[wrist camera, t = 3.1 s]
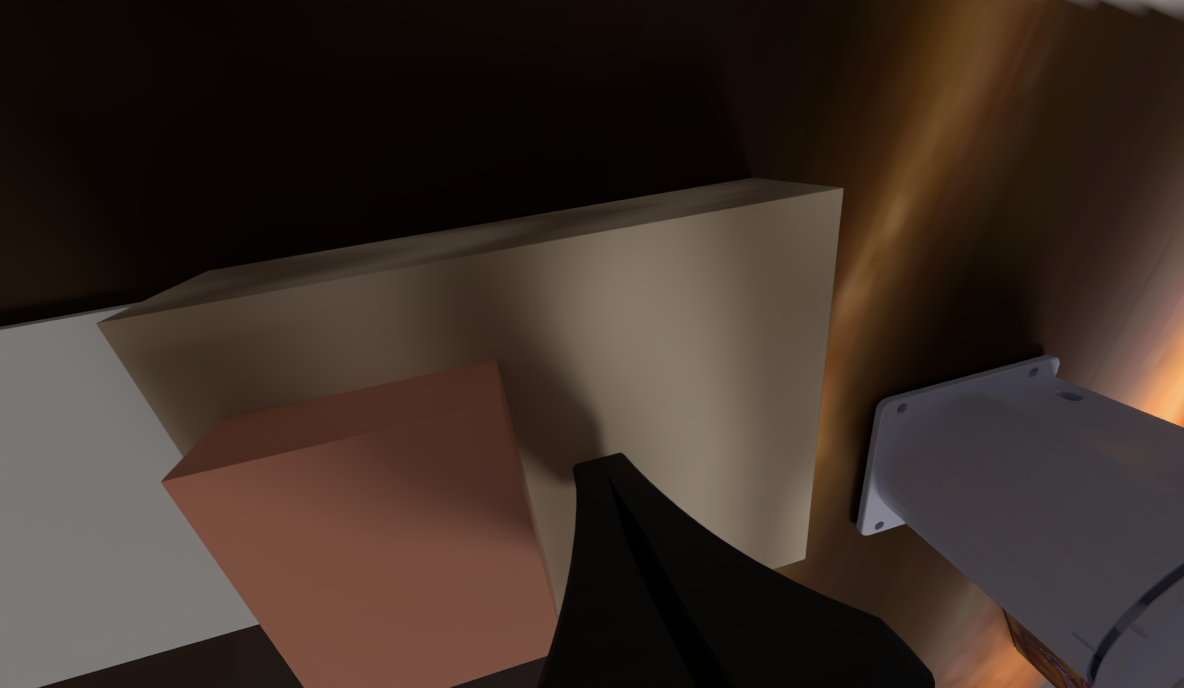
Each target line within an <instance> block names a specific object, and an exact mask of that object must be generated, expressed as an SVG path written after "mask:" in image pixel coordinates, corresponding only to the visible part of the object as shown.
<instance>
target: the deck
mask: <svg viewBox="0 0 1184 688" xmlns="http://www.w3.org/2000/svg"><path fill="white" fill-rule="evenodd" d="M843 189H844V188H839V187H830V186H821V185H812V184H804V183H795V182H786V181H778V180H769V179H760V178H749V179H743V180H737V181H731V182H725V183H719V184H713V185H708V186H702V187H696V188H690V189H684V190H678V191H672V192H667V193H661V194H655V195H649V196H643V197H637V198H631V199H626V200H620V201H614V202H608V203H602V204H596V205H590V206H585V207H579V208H573V209H567V210H561V211H555V212H549V213H544V214H538V215H532V216H526V217H520V218H514V219H509V220H503V221H497V222H491V223H485V224H479V225H473V226H468V227H462V228H456V229H450V230H444V231H438V232H432V233H427V234H421V235H415V236H409V237H403V238H397V239H391V240H386V241H380V242H374V243H368V244H362V245H356V246H350V247H345V248H339V249H333V250H327V251H321V252H315V253H309V254H304V255H298V256H292V257H286V258H280V259H274V260H268V261H263V262H257V263H251V264H245V265H239V266H233V267H227V268H222V269H216V270H210V271H207V272H204V273H202V274H200V275H198V276H196V277H194V278H192V279H190V280H187V281H185V282H183V283H181V284H179V285H177V286H175V287H172V288H170V289H168V290H166V291H164V292H162V293H160V294H158V295H155V296H153V297H151V298H149V299H147V300H145V301H143V302H140V303H138V304H136V305H134V306H132V307H130V308H128V309H126V310H123V311H121V312H119V313H117V314H115V315H113V316H111V317H108V318H106V319H104V320H102V321H100V322H98V323H96V324H97V326H98V327H99V329H100V330H101V332H102V333H103V335H104V336H105V338H106V340H107V341H108V343H109V344H110V346H111V347H112V349H113V350H114V352H115V353H116V355H117V356H118V358H119V359H120V361H121V363H122V364H123V366H124V367H125V369H126V370H127V372H128V373H129V375H130V376H131V378H132V379H133V381H134V383H135V384H136V386H137V387H138V389H139V390H140V392H141V393H142V395H143V396H144V398H145V399H146V401H147V402H148V404H149V406H150V407H151V409H152V410H153V412H154V413H155V415H156V416H157V418H158V419H159V421H160V422H161V424H162V426H163V427H164V429H165V430H166V432H167V433H168V435H169V436H170V438H171V439H172V441H173V442H174V444H175V446H176V447H177V449H178V450H179V452H180V453H181V455H182V456H183V457H184V456H185V455H186V454H187V453H188V452H189V451H190V450H191V449H192V448H193V447H194V445H195V444H196V443H197V442H198V441H199V440H200V439H201V438H202V437H203V436H204V435H205V434H206V433H207V432H208V431H209V429H210V428H211V427H212V426H213V425H214V424H215V423H216V422H217V421H218V420H222V419H226V418H231V417H235V416H240V415H244V414H249V413H254V412H258V411H263V410H267V409H272V408H276V407H281V406H286V405H290V404H295V403H299V402H304V401H308V400H313V399H318V398H322V397H327V396H331V395H336V394H341V393H345V392H350V391H354V390H359V389H363V388H368V387H373V386H377V385H382V384H386V383H391V382H395V381H400V380H405V379H409V378H414V377H418V376H423V375H428V374H432V373H437V372H441V371H446V370H450V369H455V368H460V367H464V366H469V365H473V364H478V363H482V362H487V361H492V360H496V359H497V363H498V367H499V371H500V375H501V379H502V383H503V387H504V391H505V395H506V399H507V403H508V407H509V411H510V415H511V419H512V423H513V427H514V431H515V436H516V440H517V444H518V448H519V452H520V456H521V460H522V464H523V468H524V472H525V476H526V480H527V484H528V488H529V492H530V496H531V500H532V504H533V508H534V512H535V516H536V520H537V524H538V528H539V532H540V536H541V540H542V544H543V549H544V553H545V557H546V561H547V565H548V569H549V573H550V577H551V581H552V585H553V590H554V596H555V601H556V607H557V613H558V618H559V614H560V610H561V606H562V602H563V598H564V594H565V589H566V584H567V580H568V574H569V569H570V563H571V556H572V549H573V541H574V533H575V519H576V486H575V480H574V475H573V470H572V468H573V467H574V466H575V465H576V464H578V463H582V462H585V461H589V460H593V459H597V458H601V457H604V456H608V455H612V454H616V453H620V452H621V453H623V454H624V455H625V456H626V457H627V458H628V459H629V460H630V461H631V462H632V463H633V465H634V466H635V467H636V468H637V469H638V470H639V471H640V472H641V473H642V474H643V475H644V476H645V477H646V478H647V479H648V480H649V481H650V482H651V483H652V484H654V485H655V486H656V487H657V488H658V489H659V490H660V491H661V492H662V493H663V494H665V495H666V496H667V497H668V498H669V499H670V500H671V501H673V502H674V503H675V504H676V505H677V506H678V507H680V508H681V509H682V510H683V511H685V512H686V513H687V514H688V515H690V516H691V517H692V518H693V519H695V520H696V521H697V522H699V523H700V524H701V525H703V526H704V527H705V528H707V529H708V530H709V531H711V532H712V533H714V534H715V535H717V536H718V537H719V538H721V539H722V540H724V541H725V542H727V543H729V544H730V545H732V546H733V547H735V548H736V549H738V550H739V551H741V552H743V553H744V554H746V555H748V556H749V557H751V558H752V559H754V560H756V561H758V562H759V563H761V564H763V565H765V566H767V567H769V568H771V569H775V568H778V567H781V566H784V565H787V564H791V563H794V562H797V561H800V560H803V559H805V554H806V544H807V535H808V525H809V516H810V506H811V496H812V487H813V477H814V468H815V458H816V448H817V439H818V429H819V419H820V410H821V400H822V391H823V381H824V371H825V362H826V352H827V342H828V333H829V323H830V314H831V304H832V294H833V285H834V275H835V266H836V256H837V246H838V237H839V227H840V217H841V208H842V198H843Z"/></svg>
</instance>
